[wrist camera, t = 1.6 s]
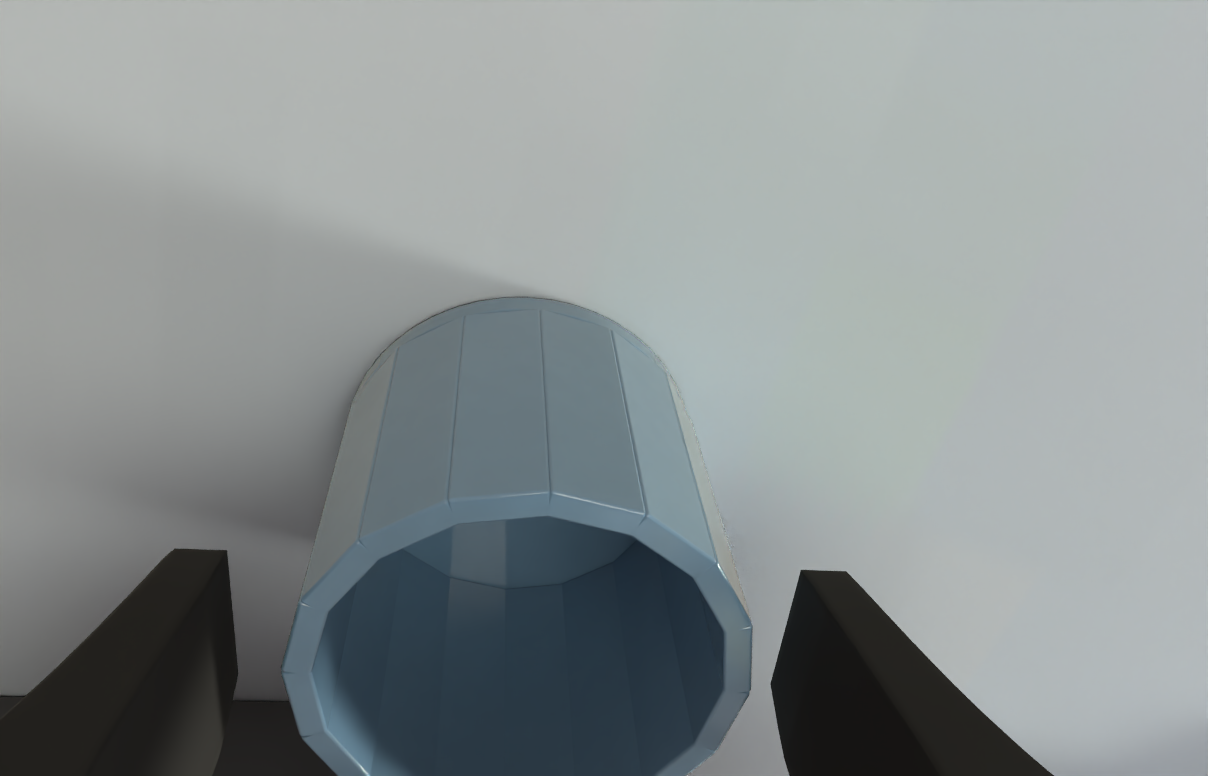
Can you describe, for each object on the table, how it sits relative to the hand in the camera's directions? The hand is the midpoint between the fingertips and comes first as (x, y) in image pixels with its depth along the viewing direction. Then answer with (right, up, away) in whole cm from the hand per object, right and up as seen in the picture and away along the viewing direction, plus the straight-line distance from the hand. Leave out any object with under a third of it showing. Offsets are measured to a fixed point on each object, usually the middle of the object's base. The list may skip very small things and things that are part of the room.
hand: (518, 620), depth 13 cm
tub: (0, +2, +3) cm, 4 cm away
